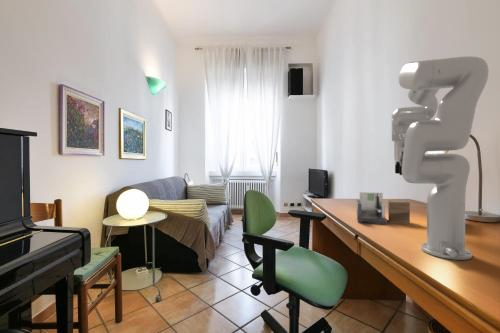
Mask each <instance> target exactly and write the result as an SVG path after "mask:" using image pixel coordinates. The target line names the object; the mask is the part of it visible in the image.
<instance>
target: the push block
mask: <svg viewBox="0 0 500 333" xmlns="http://www.w3.org/2000/svg"><path fill="white" fill-rule="evenodd" d="M410 203H411V202H410V201H408V200H389V199H388V202H387V204H388V210H387V211H388V222H389V223H390V224H392V223H393V224H402V225H403V224H404V225H410V224H411V212H410V211H411V210H410V208H411V204H410Z"/></svg>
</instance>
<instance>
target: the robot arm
mask: <svg viewBox="0 0 500 333" xmlns="http://www.w3.org/2000/svg"><path fill="white" fill-rule="evenodd" d="M488 78H489V66H488V63H487V61H486V60H485V59H483V58H481V57H478V56H455V57H446V58H440V59H426V60H417V61H409V62H407V63H406V64H404V65H403V66H402V68H401V70H400V72H399V75H398V83H399V85H400V87H401V88H403V89H406V90H408V92H407V97H408V99H409V100H410V101H411V102H412V103H413V104H416V105H417V106H408V107H398V108H396V109H395V110H394V111H393V112H392V113H391V142H394V143H393V149H394V152H393V153H394V154H393V158H394V162H395V163H394V164H395V165H394V173H395V174H398V175H399V176H402V178H403V179H404V181H405V182H407V183H409V184H421V185H422V184H424V185H425V184H429V185H431V184H432V185H433V187H432V188H431V189H430V190H429V192H428V194H427V197H426V242H424V243H421V247H420V248H421V250H422V251H423V252H424V253H427V254H429V255H432V256H434V257H438V258H442V259H447V260H456V261H457V260H458V261H460V260H461V261H463V260H464V261H466V260H470V259H472V258H473V253H472V252H471V250H469V249H467V248H466V194H467V193H466V192H467V184H468V180H469V175H470V168H471V165H470V162H469V161H468V158H466V157H465V156H464V155H461V154H459V153H451V151H458V150H461V149H462V150H463V149H464V148H465V147H466V146H467V145H468V143H469V140H470V137H471V133H472V128H473V122H474V118H475V114H476V108H477V105H478V101H479V99H480V97H481V96H482V93H483V92H484V89H485V87H486V84H487V82H488ZM449 88H452V89H451V90H449V91H448V92H447V93H446V94H445V95H444V97H442V99H441V100H440V101H438V98H437V96H436V95H437V93H438V92H439V91H440V90H441V89H449ZM435 115H436V117H435V119H433V118H434V116H435ZM441 151H442V152H444V151H450V153H448V152H447V153H442V152H441ZM426 152H441V153H426Z"/></svg>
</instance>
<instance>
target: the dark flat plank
mask: <svg viewBox="0 0 500 333" xmlns="http://www.w3.org/2000/svg"><path fill="white" fill-rule="evenodd" d="M377 209H379V196H377ZM377 217H379V213H378V212H377Z"/></svg>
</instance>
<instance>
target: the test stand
mask: <svg viewBox="0 0 500 333" xmlns="http://www.w3.org/2000/svg"><path fill="white" fill-rule="evenodd" d="M383 195H384V194H383V192H364V191H363V192H362V191H361V192H359V199H356V219H357V223H359V224H374V225H375V224H376V225H387V218H386V217H385V218H381V217H380V213H379V217H377V196H379V209H380V203H382V204H383V205H384V201H383V200H384V199H383V198H384V197H383Z"/></svg>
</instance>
